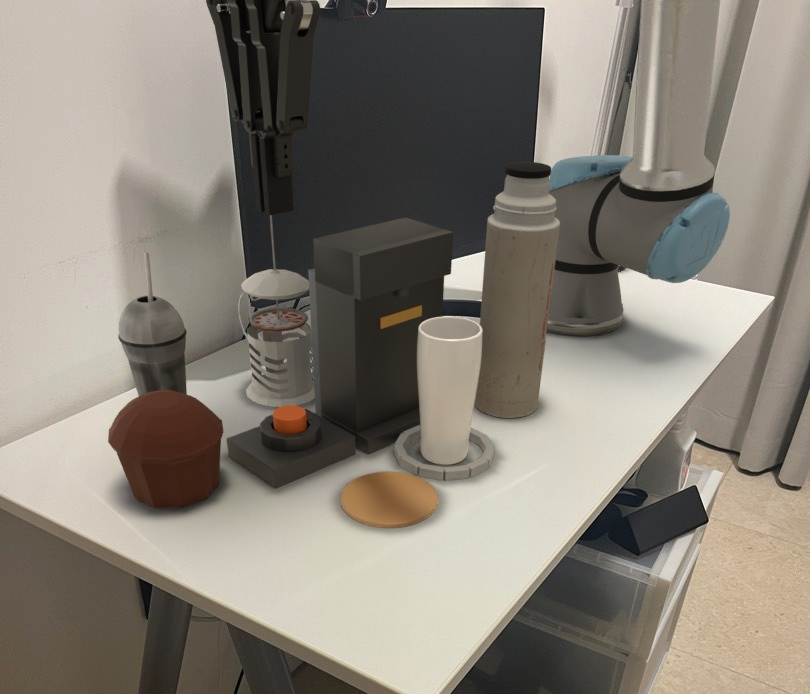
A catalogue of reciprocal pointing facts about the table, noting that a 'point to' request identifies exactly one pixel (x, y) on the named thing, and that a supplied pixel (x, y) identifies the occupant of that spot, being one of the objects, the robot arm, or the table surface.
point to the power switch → (290, 449)
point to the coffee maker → (379, 334)
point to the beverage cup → (154, 342)
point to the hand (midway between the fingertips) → (275, 210)
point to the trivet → (389, 499)
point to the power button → (289, 419)
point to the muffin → (168, 448)
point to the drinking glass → (447, 385)
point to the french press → (278, 340)
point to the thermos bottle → (517, 291)
